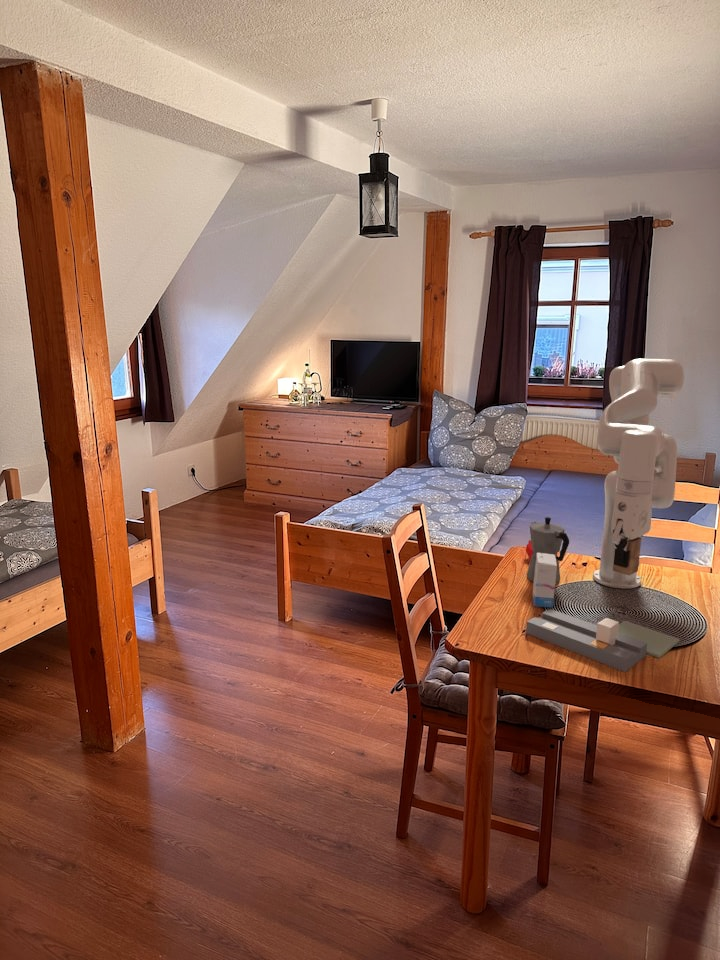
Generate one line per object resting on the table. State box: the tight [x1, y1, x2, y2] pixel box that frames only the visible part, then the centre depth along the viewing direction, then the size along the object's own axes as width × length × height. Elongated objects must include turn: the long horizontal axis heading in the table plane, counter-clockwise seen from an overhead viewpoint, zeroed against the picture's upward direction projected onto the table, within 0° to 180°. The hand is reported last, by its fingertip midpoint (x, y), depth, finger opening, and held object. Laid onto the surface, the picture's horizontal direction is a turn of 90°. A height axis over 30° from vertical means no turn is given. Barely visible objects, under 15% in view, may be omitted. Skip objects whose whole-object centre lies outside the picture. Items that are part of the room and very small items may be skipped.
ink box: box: [532, 553, 557, 609], centre depth 174 cm, size 9×5×12 cm, turn 168°
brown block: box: [613, 534, 642, 575], centre depth 153 cm, size 4×4×12 cm
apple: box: [525, 539, 533, 561], centre depth 203 cm, size 7×7×8 cm
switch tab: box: [596, 617, 620, 646], centre depth 148 cm, size 4×3×5 cm
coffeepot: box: [526, 516, 570, 584], centre depth 187 cm, size 15×9×18 cm, turn 24°
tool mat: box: [618, 620, 681, 659], centre depth 155 cm, size 11×13×1 cm
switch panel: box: [525, 608, 647, 673], centre depth 152 cm, size 10×24×3 cm, turn 44°
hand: (625, 562), depth 154 cm, fingers closed on brown block, 4 cm apart
